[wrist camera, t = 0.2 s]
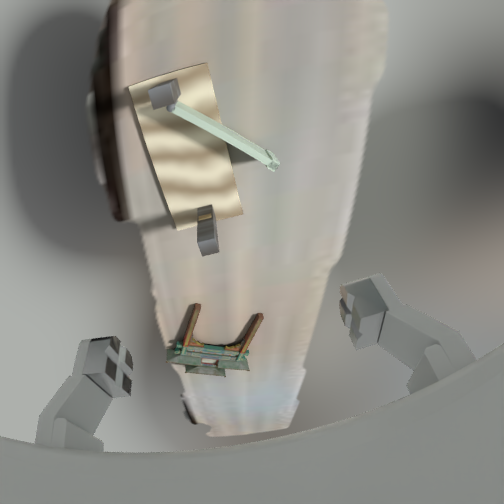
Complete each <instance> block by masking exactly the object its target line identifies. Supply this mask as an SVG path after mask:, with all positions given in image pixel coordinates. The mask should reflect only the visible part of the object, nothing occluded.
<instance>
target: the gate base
mask: <svg viewBox="0 0 504 504" xmlns="http://www.w3.org/2000/svg"><path fill="white" fill-rule="evenodd" d="M129 91H130V94H131V97H132V101H133V104H134V107H135V111H136V114H137V117H138V120H139V123H140V126H141V129H142V133H143V136H144V139H145V142H146V145H147V148H148V151H149V154H150V157H151V159H152V162H153V165H154V168H155V171H156V174H157V177H158V180H159V182H160V185H161V188H162V191H163V193H164V196H165V199H166V202H167V204H168V207H169V210H170V212H171V215H172V217H173V220H174V223H175V225H176V228H177V230H178V231H179V230H183V229H186V228H190V227H194V226H197V243H198V246H199V249H200V251H201V254H202V256H206V255H210V254H214V253H218V252H219V245H218V235H217V225H216V221H218V220H222V219H226V218H230V217H234V216H238V215H242V214H243V212H242V208H241V203H240V199H239V195H238V191H237V187H236V182H235V178H234V174H233V170H232V165H231V161H230V157H229V153H228V149H227V144H226V141H224V140H222V139H221V138H219V137H217V136H215V135H213V134H212V133H210V132H208V131H206V130H204V129H202V128H200V127H199V126H197V125H195V124H193V123H191V122H189V121H187V120H185V119H183V118H181V117H180V116H178V115H176V114H174V113H172V112H168V111H167V109H166V107H167V106H168V105H172V104H175V102H176V101H177V100H178V101H179V102H181V103H183V104H185V105H187V106H189V107H191V108H193V109H195V110H196V111H198V112H200V113H202V114H204V115H206V116H207V117H209V118H211V119H213V120H215V121H217V122H218V123H220V124H222V123H221V119H220V115H219V111H218V106H217V102H216V98H215V94H214V89H213V85H212V81H211V77H210V73H209V68H208V64H207V63H205V64H200V65H197V66H193V67H189V68H185V69H182V70H178V71H174V72H171V73H168V74H164V75H161V76H158V77H155V78H152V79H149V80H146V81H143V82H140V83H137V84H135V85H132V86H129Z"/></svg>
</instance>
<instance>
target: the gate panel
mask: <svg viewBox="0 0 504 504" xmlns="http://www.w3.org/2000/svg"><path fill="white" fill-rule="evenodd" d="M166 109H167V111H168V112H172V113H174V114H176V115H178V116H180V117H181V118H183V119H185V120H187V121H189V122H191V123H193V124H195V125H197V126H199V127H200V128H202V129H204V130H206V131H208V132H210V133H212V134H213V135H215V136H217V137H219V138H221V139H222V140H224V141H226V142H228V143H229V144H231V145H233V146H235V147H236V148H238V149H240V150H242V151H243V152H245V153H247V154H249V155H250V156H252V157H254V158H255V159H257V160H259V161H260V162H262V163H264V164H265V165H266V167H267V168H269V169H270V170H272V171H275V170H276V169H277V167H278V166H279V165H280V162H279V161H278V160H277V158H276V157H275V155H274V154H273V153H272V152H270V151H269V150H267V149H266V150H264V149H262V148H261V147H259V146H258V145H256V144H254V143H253V142H251V141H249V140H248V139H246V138H244V137H243V136H241V135H239V134H237V133H236V132H234V131H232V130H231V129H229V128H227V127H225V126H224V125H222V124H220V123H218V122H217V121H215V120H213V119H211V118H209V117H207V116H206V115H204V114H202V113H200V112H198V111H196V110H195V109H193V108H191V107H189V106H187V105H185V104H183V103H181V102H179V101H178V100H177V101H176V102H175V104H172V105H168V106H167V107H166Z"/></svg>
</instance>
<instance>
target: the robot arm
mask: <svg viewBox="0 0 504 504" xmlns="http://www.w3.org/2000/svg"><path fill="white" fill-rule="evenodd" d="M340 294H341V296H342V299H341V300H340V304H339V306H340V313H341V317H342V320H343V322H344V325H345V326H346V327H348V328H350V334H349V335H350V338H351V340H352V342H353V345H354V347H355V349H356V350H358V349H361V348H365V347H367V346H371V345H374V344H377V343H378V345H379V346H380V347H382V348H384V350H386V351H387V352H389V353H390V354H391V355H393V356H394V357H395V358H397V359H398V360H399V361H401V362H402V363H404V364H405V365H406V366H408V367H409V368H410V369H412V370H413V371H414V372H413V374H412V376H411V378H410V379H409V381H408V383H407V385H406V386H407V388H408V390H409V393H410V395H408V396H405V397H403V398H401V399H398V400H396V401H393V402H391V403H389V404H387V405H384V406H381V407H379V408H376V409H373V410H371V411H368V412H365V413H362V414H359V415H356V416H354V417H350V418H347V419H344V420H341V421H338V422H335V423H332V424H329V425H325V426H321V427H318V428H314V429H310V430H307V431H303V432H299V433H295V434H291V435H286V436H282V437H277V438H273V439H268V440H263V441H257V442H252V443H246V444H240V445H234V446H227V447H219V448H211V449H201V450H190V451H177V452H156V453H155V452H153V453H152V452H151V453H123V452H122V453H121V452H103V446H104V443H103V442H102V440H100V439H98V438H96V437H94V436H93V435H94V433H95V431H96V429H97V427H98V425H99V423H100V421H101V420H102V418H103V416H104V414H105V412H106V410H107V409H108V407H109V405H110V403H111V401H112V400H113V399H112V398H116V397H125V396H131V386H132V385H131V384H132V380H131V379H130V378H129V375H130V374H131V373H132V371H133V361H132V356H131V354H130V352H129V351H128V349H127V348H126V347H123V346H121V345H120V342H121V341H120V340H119V339H118V338H117V337H116V336H109V337H101V338H93V339H87V340H82V341H81V342H80V344H79V347H78V351H77V355H76V360H75V364H74V368H73V373H72V376H69V377H68V378H67V379H66V381H65V382H64V383H63V385H62V386H61V387H60V388H59V390H58V391H57V392H56V394H55V395H54V396H53V398H52V399H51V400H50V402H49V403H48V405H47V406H46V407H45V409H44V410H43V411H42V413H41V414H40V415H39V421H38V426H37V432H36V439H35V444H34V443H28V442H24V441H18V440H14V439H10V438H6V437H1V436H0V504H504V343H503V344H502V345H500V346H498V347H497V348H495V349H494V350H492V351H491V352H489V353H487V354H486V355H484V356H483V357H481V358H479V359H478V360H476V358H475V356H474V355H473V353H472V352H471V350H470V348H469V347H468V345H467V343H466V342H465V340H464V338H463V337H462V335H461V334H460V332H459V331H457V330H455V329H453V328H451V327H449V326H448V325H446V324H444V323H442V322H440V321H438V320H436V319H434V318H432V317H430V316H428V315H427V314H425V313H422V312H421V311H419V310H417V309H415V308H413V307H411V306H409V305H407V304H406V305H403V304H402V303H401V301H400V300H399V298H398V297H397V295H396V293H395V292H394V290H393V289H392V287H391V286H390V284H389V283H388V281H387V280H386V278H385V277H384V275H383V274H381V273H379V274H376V275H372V276H369V277H365V278H362V279H358V280H355V281H352V282H348V283H345V284H341V287H340Z"/></svg>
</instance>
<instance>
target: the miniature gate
mask: <svg viewBox="0 0 504 504" xmlns="http://www.w3.org/2000/svg"><path fill="white" fill-rule="evenodd" d="M200 309H201V304H197V303H195V306H194V309H193V312H192V315H191V317H190V320H189V323H188V327H187V330H186V333H185V336H184V339H183V342H179V341H177V343H176V347H177V348H175V350H173V349H167V361H166V362H172V363H179V364H185V366H186V372H185V373H196V374H205V375H216V376H224V377H226V376H225V369H235V370H247V371H250V370H249V367H248V362H247V359H246V358H245V356H244V355H246V356H248V355H249V350H247V348H248V346H249V344H250V342H251V341H252V339H253V337H254V335H255V333H256V331H257V329H258V328H259V326H260V324H261V322H262V320H263V318H264V317H263V314H262V313H258V314H257V316H256V318H255V319H254V321H253V323H252V324H251V326H250V328H249V330H248V332H247V334H246V336H245V338H244V339H243V340H242V342H241V344H240V343H239V344H236V345H235V346H231V347H227V346H225V347H219V346H211V345H204V343H199V342H197V341H195V339H193V338H192V337H193V330H194V327H195V324H196V321H197V318H198V315H199V312H200Z"/></svg>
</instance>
